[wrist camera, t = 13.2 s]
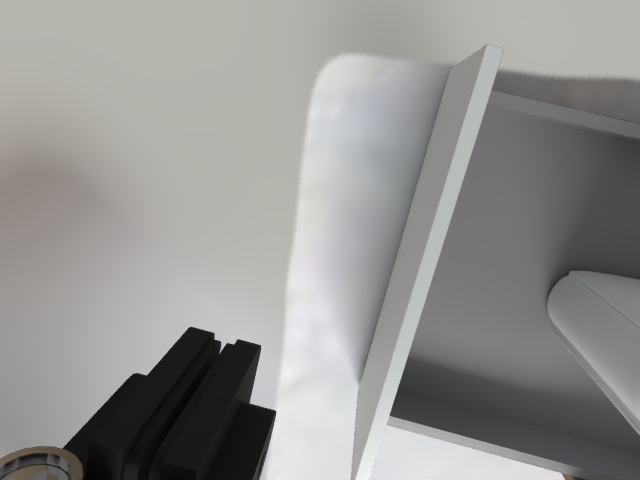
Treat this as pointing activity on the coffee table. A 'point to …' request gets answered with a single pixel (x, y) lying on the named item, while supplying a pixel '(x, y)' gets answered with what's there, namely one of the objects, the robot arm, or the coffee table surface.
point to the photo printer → (602, 333)
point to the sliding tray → (504, 283)
